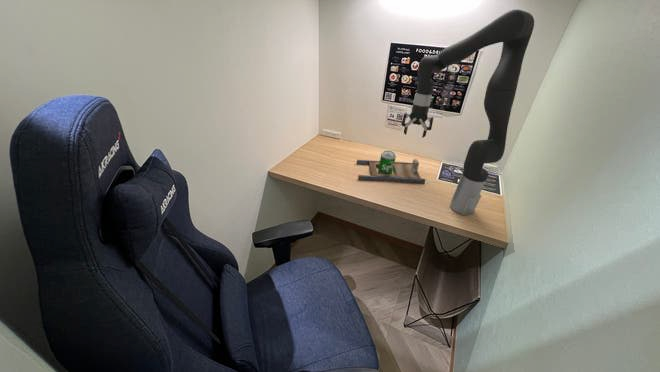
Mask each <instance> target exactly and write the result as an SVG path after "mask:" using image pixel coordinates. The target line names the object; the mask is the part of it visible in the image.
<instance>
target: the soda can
mask: <svg viewBox="0 0 660 372" xmlns="http://www.w3.org/2000/svg"><path fill="white" fill-rule="evenodd" d="M396 158H397V156H396V154H395V152H394V151H392V150H384V151H382V152H381V154H380V159H379V161H380V164H379V167H378V170H377V172H378V174H391V175H393V172H394V170H393V167H394V162H396Z"/></svg>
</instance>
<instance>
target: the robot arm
mask: <svg viewBox="0 0 660 372" xmlns="http://www.w3.org/2000/svg"><path fill="white" fill-rule="evenodd" d="M534 28H535V18H534V17H533V15H532V14H531V13H530V12H527V11H525V10H522V9H511V10H508V11H507V12H505V13H503V14H502V15H501V14H500V15H499V16H498V17H497V18H495V19H494V20H493V21H491V22H490V23H488V24H487V25H486V26H483V27H482V28H481V29H479V30H477V31H475V32H474V33H473V34H471V35H469V36H467V37H465V38H463V39H461V40H459V41H457V42H455V43H453V44H451V45H449V46H447V47H445V48H443V50H442V51H441V52H439V53H438V54H435V55H425V56H424V57H422V58H421V59H420V61H419V63H418V65H417V66H418V67H417V87H416V92H415V94H414V99H413V104H412V108H411V112H410V113H408V112H404V114H403V117H402V121H401V126H402V127H404V129H403V134H404V135H407V133H408V128H409V126H410V125H412V124H413V125H418V126H422V128H423V133H422V137H421V138H422V139H424V137H426V136H427V132H428V131H431V130H432V127H433V123H434V116H430V117H429V116H428V114H429V110H430V105H431V103H432V102H431V101H432V95H433V91H434V87H435V81H434V80H433V79H432V74H435V73H438V72H441V71H442V70H445V69H447V68H448V67H450V66H453V65H455V64H458V63H461V61H464V60H466V59H468V58H469V57H471V56H472V55H474V54H475V53H476V52H478V51H479V50H481V49H482V50H483V49H484V48H486V47H489V46H492V45H496V44H499V43H502V50H501V53H500V58H499V60H498V61H499V62H498V64H497V66H496V67H495V69H494V71H493V73H492V75H491V76H490V79H489V81H488V84H487V86H486V89H485V90H486V91H485V93H484V94H485V95H484V100H483V107H484V112H485V114H486V116H487V119H488V123H489V130H488V136H487V139H477V140H475V141H473V142H472V143H471V144H470V146H469V148H468V150H467V153H466V157H465V159H464V163H463V169H462V170H463V171H462V173H461V176H460V178H459V181H458V183H457V186H456V188H455V191H454V194H453V196H452V199H451V202H450V204H449V207H450V209H451V210H452V211H454V212H456V213H457V214H459V215H462V216H464V217H465V216H467V215H470V214H473V213H475V210H476V208H477V206H478V204H479V202H480V200H481V197H482V195H481V192H482V190H483V188H484V186H485V183H486V181H487V180H488V177H489V172H488V171H487V170H486V169H485V168H483V167H484V165H485V164H494V163H497V162H499V161H500V160H501V159H502V158H503V156H504V154H505V150H506V142H507V135H508V134H507V133H508V128H509V123H510V118H511V113H512V108H513V105H514V103H515V102H514V101H515V98H516V93H517V88H518V84H519V79H520V75H521V71H522V65H523V62H524V58H525V56H526V51H527V48H528V45H529V42H530V39H531V37H532V34H533V31H534ZM408 117H409V120H408V122H406V119H408ZM427 121H428V123H429V126H427V124H426V122H427Z"/></svg>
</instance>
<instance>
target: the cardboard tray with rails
mask: <svg viewBox="0 0 660 372" xmlns="http://www.w3.org/2000/svg"><path fill="white" fill-rule="evenodd" d="M411 163H412V164H396V163H394V167H393V172H394V174H380V173H378V170H377V168H379V164H380V163H378V162H370V163H369V165H368V166H369V173H370V176H386V177H404V178H421V176H420V173H419V171H418V169H419V164H420V162H419V160H418V159H417V158H414V159H412V162H411Z"/></svg>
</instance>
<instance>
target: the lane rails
mask: <svg viewBox="0 0 660 372" xmlns="http://www.w3.org/2000/svg"><path fill="white" fill-rule="evenodd" d="M370 162H378V163H380V160H367V159H356V165H360V166H369V163H370ZM394 163H396V164H412V163H413V162H402V161H401V162H400V161H395V162H394ZM357 180H358V181H366V182H382V183H383V182H386V183H404V184H419V185H425V183H426V178H421V177H420V178H404V177H386V176H371V175H365V174H358V177H357Z"/></svg>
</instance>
